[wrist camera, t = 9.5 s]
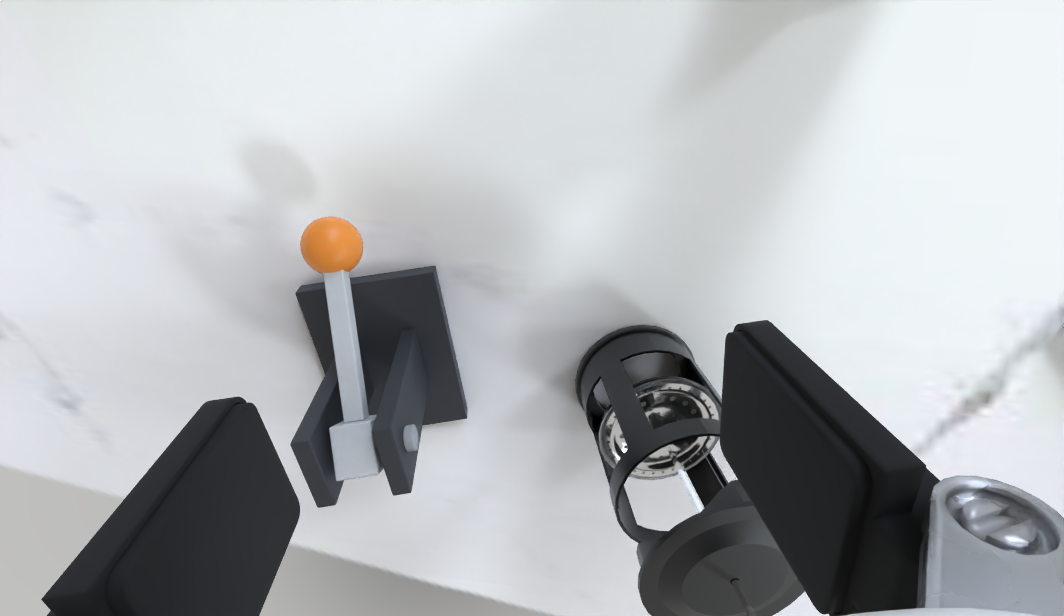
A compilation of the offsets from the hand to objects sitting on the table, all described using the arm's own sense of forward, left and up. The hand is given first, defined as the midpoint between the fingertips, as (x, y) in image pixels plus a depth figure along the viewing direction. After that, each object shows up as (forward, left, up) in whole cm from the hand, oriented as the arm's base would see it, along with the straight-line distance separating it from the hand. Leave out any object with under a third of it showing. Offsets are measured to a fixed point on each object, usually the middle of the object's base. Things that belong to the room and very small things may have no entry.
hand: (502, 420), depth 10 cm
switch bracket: (+11, -9, -24) cm, 28 cm away
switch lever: (+7, -9, -18) cm, 21 cm away
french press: (+17, +9, -24) cm, 31 cm away
